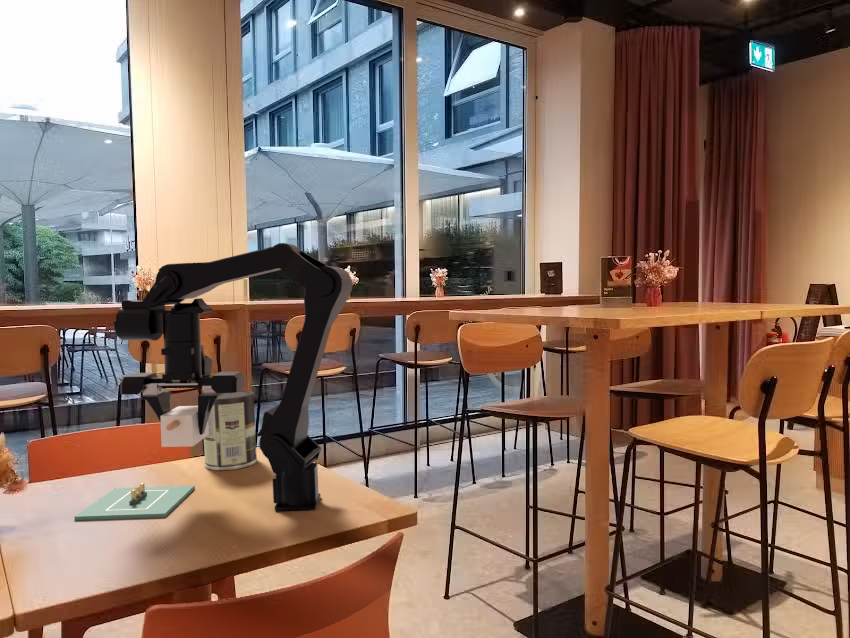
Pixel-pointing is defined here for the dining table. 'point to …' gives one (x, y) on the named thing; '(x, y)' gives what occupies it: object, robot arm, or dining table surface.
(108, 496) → the pin board
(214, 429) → the coffee can
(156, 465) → the dining table surface
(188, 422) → the block
